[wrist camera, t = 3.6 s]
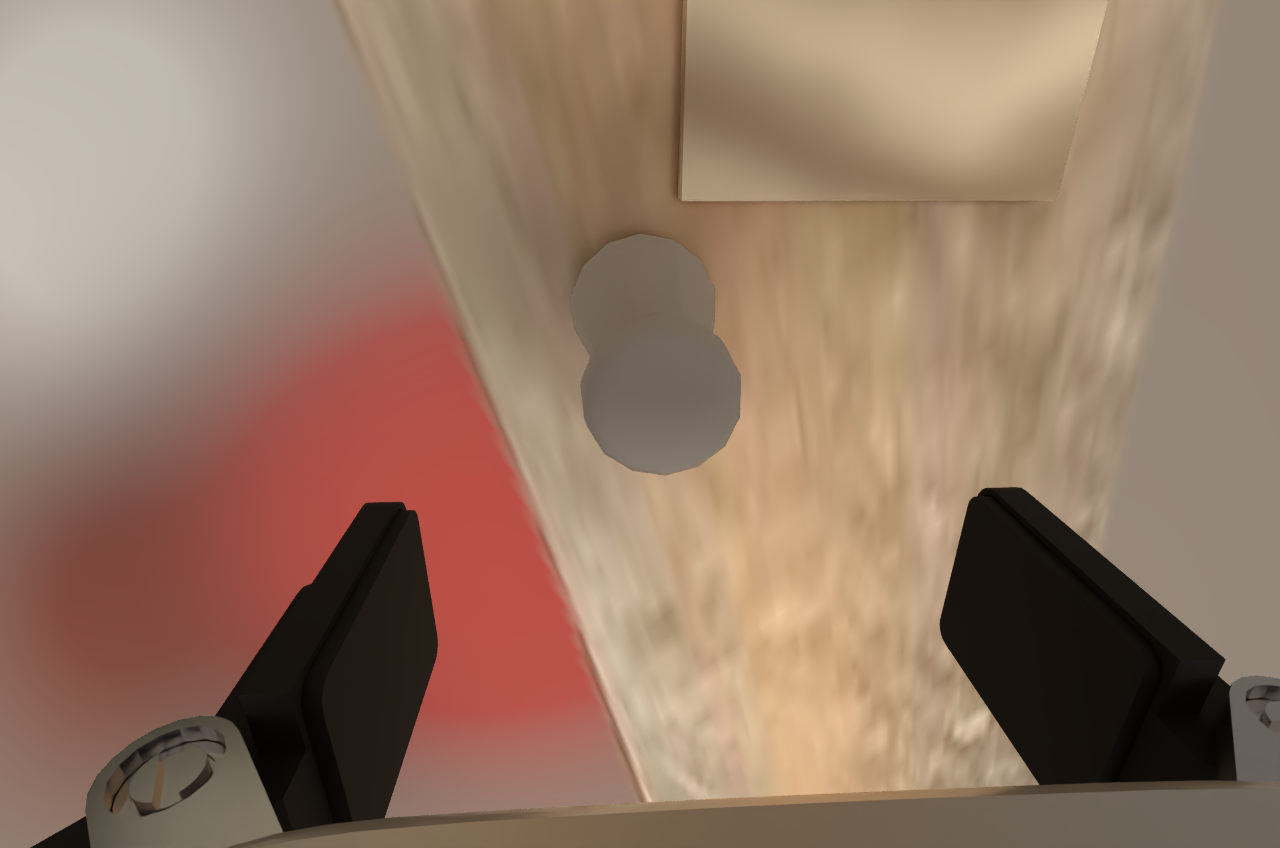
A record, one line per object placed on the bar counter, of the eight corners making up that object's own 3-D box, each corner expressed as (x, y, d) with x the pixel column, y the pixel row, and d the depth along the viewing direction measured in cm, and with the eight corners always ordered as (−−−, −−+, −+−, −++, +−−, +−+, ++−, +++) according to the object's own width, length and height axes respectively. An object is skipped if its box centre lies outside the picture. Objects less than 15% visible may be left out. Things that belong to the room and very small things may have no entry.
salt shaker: (728, 320, 29) (813, 454, 17) (616, 379, 30) (622, 546, 18) (668, 198, 26) (717, 256, 15) (548, 267, 27) (504, 373, 16)
